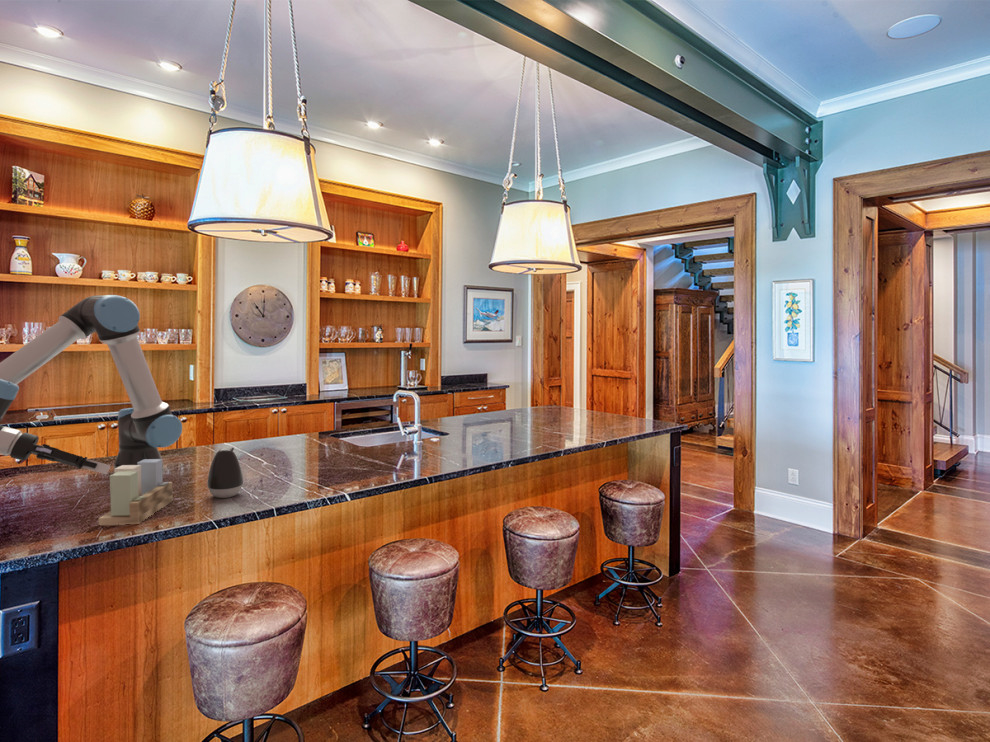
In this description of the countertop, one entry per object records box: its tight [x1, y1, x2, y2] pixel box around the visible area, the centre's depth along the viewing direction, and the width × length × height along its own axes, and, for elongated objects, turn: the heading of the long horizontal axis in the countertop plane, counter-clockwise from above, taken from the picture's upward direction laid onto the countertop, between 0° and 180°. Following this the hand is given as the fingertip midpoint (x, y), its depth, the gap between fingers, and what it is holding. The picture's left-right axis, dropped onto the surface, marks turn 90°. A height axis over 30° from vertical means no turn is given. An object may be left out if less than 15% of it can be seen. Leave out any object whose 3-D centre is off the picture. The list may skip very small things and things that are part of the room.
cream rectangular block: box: [113, 465, 142, 497], centre depth 155 cm, size 4×5×11 cm
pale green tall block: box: [109, 471, 138, 516], centre depth 149 cm, size 4×5×11 cm
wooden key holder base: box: [98, 481, 174, 526], centre depth 156 cm, size 20×10×6 cm, turn 7°
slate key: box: [137, 458, 164, 495], centre depth 163 cm, size 4×5×11 cm
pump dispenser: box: [206, 447, 244, 499], centre depth 173 cm, size 10×10×15 cm
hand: (108, 470), depth 166 cm, fingers closed
